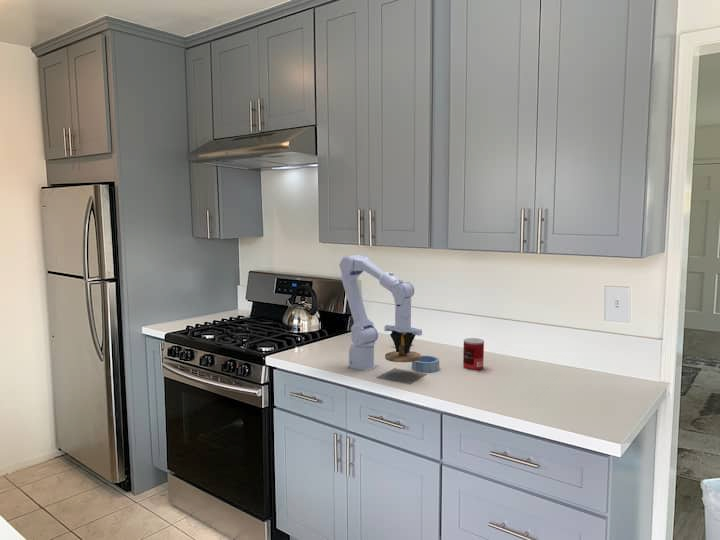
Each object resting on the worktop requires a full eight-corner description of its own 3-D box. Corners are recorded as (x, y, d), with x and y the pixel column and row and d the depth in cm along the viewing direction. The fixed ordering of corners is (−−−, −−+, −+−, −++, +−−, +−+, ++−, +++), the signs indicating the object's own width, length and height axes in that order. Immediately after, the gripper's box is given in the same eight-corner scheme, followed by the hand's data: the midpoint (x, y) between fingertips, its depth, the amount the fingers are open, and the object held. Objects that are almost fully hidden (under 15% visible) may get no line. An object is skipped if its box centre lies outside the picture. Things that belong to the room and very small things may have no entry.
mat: (375, 378, 200) (375, 377, 200) (394, 369, 211) (394, 368, 211) (410, 385, 192) (410, 384, 192) (427, 375, 204) (427, 374, 204)
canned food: (483, 365, 216) (484, 338, 215) (482, 371, 208) (483, 343, 207) (464, 364, 218) (464, 337, 217) (462, 370, 210) (462, 342, 209)
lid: (378, 359, 199) (378, 347, 199) (395, 352, 210) (395, 340, 210) (410, 364, 192) (410, 351, 192) (426, 355, 203) (426, 343, 203)
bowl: (407, 370, 210) (407, 360, 209) (419, 363, 219) (419, 354, 218) (431, 374, 204) (432, 364, 204) (443, 367, 213) (443, 357, 213)
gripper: (380, 315, 200) (380, 351, 202) (415, 319, 192) (415, 357, 194) (389, 312, 206) (389, 347, 207) (424, 316, 198) (424, 353, 200)
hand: (402, 352), depth 201 cm, fingers closed on lid, 3 cm apart
